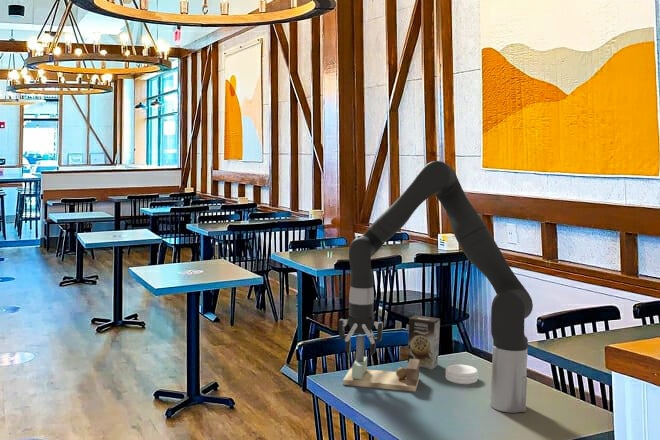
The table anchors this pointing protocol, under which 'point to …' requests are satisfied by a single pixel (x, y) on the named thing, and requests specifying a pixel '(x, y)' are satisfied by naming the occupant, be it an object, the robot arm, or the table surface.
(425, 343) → the coffee box
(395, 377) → the base
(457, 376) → the white bowl
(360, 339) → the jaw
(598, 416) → the table surface
